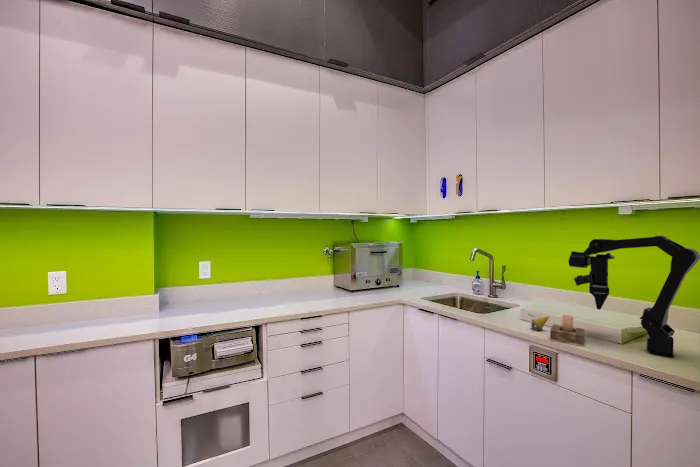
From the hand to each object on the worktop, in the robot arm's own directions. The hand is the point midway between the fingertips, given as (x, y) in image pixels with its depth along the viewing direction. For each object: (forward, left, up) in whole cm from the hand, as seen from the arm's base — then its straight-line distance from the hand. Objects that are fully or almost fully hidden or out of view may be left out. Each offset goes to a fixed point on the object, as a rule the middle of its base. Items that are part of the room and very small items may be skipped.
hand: (598, 307), depth 134 cm
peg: (+10, +9, -12) cm, 18 cm away
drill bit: (+21, +1, -13) cm, 25 cm away
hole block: (+10, +9, -13) cm, 19 cm away
